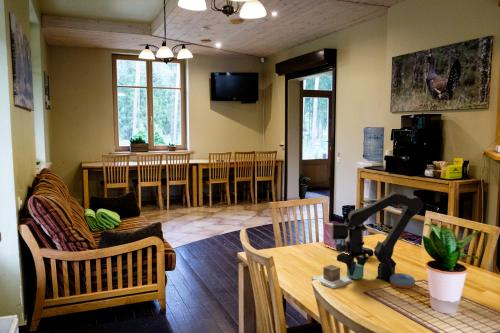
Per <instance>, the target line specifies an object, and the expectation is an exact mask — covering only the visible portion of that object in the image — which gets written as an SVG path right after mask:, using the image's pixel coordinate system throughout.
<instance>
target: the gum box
mask: <svg viewBox="0 0 500 333" xmlns="http://www.w3.org/2000/svg"><path fill="white" fill-rule="evenodd" d="M332 224H343V223H340V222H338V221H331V222H328V223H325V222H323V245H324V244H325V245H328V246H330V247H333V248H335V249H336V244H340V243H341V244H342V245H343V244H346V242H347V241H349V230H348V237H347V238H346V239H345V240H342V239H332V234H331V230H332ZM362 242H364V231H363V235H362ZM363 247H364V245H362V248H363ZM345 253H346V251H345ZM348 254H349V253H348Z"/></svg>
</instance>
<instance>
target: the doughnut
mask: <svg viewBox="0 0 500 333" xmlns="http://www.w3.org/2000/svg"><path fill="white" fill-rule="evenodd" d="M390 284H391V285H392V286H393V287H396V288H399V289H412V288H413V287H414V286H415V284H416V280H415V278H414V276H412V275H410V274H407V273H400V272H397V273H396V272H395V274H393V275H391V277H390Z"/></svg>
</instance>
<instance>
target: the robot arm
mask: <svg viewBox="0 0 500 333" xmlns="http://www.w3.org/2000/svg"><path fill="white" fill-rule="evenodd" d="M394 204H399V205H402V207H401V212H400V215H398V217H397V219H396V221H395V223H394V224H393V226H392V227H391V229H390V231H389V233H388V234H387V236H386V238H385V239H384V240H383V241H380V240H378V242H377V243H376V245H375V247H373V249H374V250H373V249H372V248H368V247H365V246H364V245H365V242H364V241H363V242H362V235H363V236H364V233H363V232H364V231H368V228H367V227H366V226H365V224H364V223H365V222H366V221H367V220H368V219H369V218H370V217H372V216H373V215H375V214H377V213H379V212H380V211H383V210H385V209H386V208H388V207H390V206H392V205H394ZM423 208H424V202H423V200H422V199H421V198H420V197H419V196H418V197H417V196H416V195H412V194H411V195H406V194H405V195H404V194H402V193H401V194H400V193H397V192H393V191H392V192H390V193H389V194H387V195H385V196H383V197H381V198H380V199H377V200H376V201H374V202H372V203H370V204H368V205H366V206H364V207H359V208H354V209H352V210H351V211H350V212H349V213H348V215H347V216H348V217H347V218H346V219H345V221H344V222H343V223H342V224H332V230H331V234H332V239H342V240H345V239H346V238H347V237H348V230H349V241H347V242H346V244H343V245H342V244H341V243H340V244H336V250H337V251H336V250H335V251H336V252H338V253H339V254H338V255H336V262H339V263H343V264H345V265H346V268H347V267H348V270H349V273H350V275H351V276H353V273H354V269H355V266H356V264H360V265H363V266H364V267H365V266H366V263H367V261H368V260H369V259H370V258H371V257H375V258H376V260H377V261H378V262H379V263H378V266H377V276H376V277H375V278H376V279H379V280H382V281H384V282H388V283H389V282H390V277H391V275H393V274H396V266H397V263H396V261H395V260H394V259H393V255H394V248H395V245H396V244H397V242H398V240H399V239H400V237H401V236H402V234H403V233H404V231H405V229H406V227H407V226H408V224H409V222H410V221H411V219H412V218H413V217H415V216H416V215H417V214H418V213H420V211H421V209H423ZM362 245H363V248H362ZM345 251H346V253H349V255H348V254H345V253H341V252H345ZM355 259H356V261H355ZM390 283H391V282H390Z"/></svg>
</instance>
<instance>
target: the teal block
mask: <svg viewBox="0 0 500 333" xmlns="http://www.w3.org/2000/svg"><path fill="white" fill-rule="evenodd" d="M364 268H365V265H364V266H363V265H360V264H357V263H356V266H355V269H354V273H353V276H351V275H350V273H349V270H348V267H347V266H346V277H347V278H350V279H353V280H358V279H362V278H364Z"/></svg>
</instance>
